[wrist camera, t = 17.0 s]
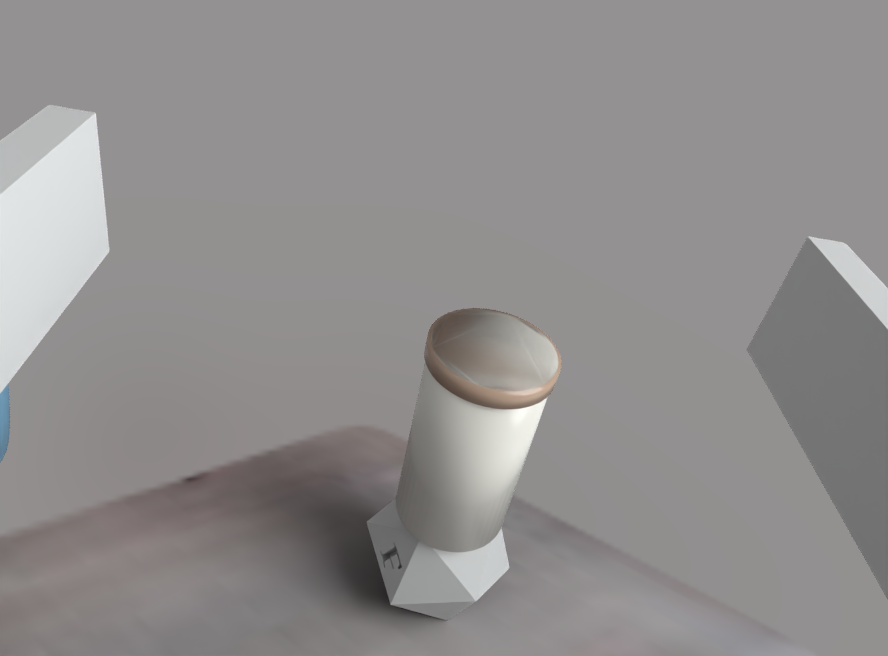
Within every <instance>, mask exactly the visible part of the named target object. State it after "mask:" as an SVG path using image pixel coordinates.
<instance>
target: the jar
mask: <svg viewBox="0 0 888 656" xmlns="http://www.w3.org/2000/svg"><path fill="white" fill-rule="evenodd" d="M424 358H425V365H424V370H423V375H422V379H421V384H420V388H419V393H418V398H417V402H416V407H415V411H414V416H413V421H412V425H411V430H410V435H409V439H408V444H407V449H406V453H405V458H404V462H403V467H402V472H401V476H400V481H399V486H398V490H397V495H396V509H397V513H398V516H399V518H400V520H401V522H402V524H403V525H404V526H405V528H406V529H407V530H408V531H409V532H410V533H411V534H412V535H413V536H414V537H415V538H417V539H418V540H419V541H421V542H423V543H424V544H426V545H428V546H431V547H433V548H436V549H439V550H442V551H448V552H468V551H473V550H476V549H479V548H481V547H484V546H485V545H487V544H489V543H490V542H491V541H492V540H493V539H494V538H495V537H496V536H497V535H498V533H499V531H500V529H501V527H502V524H503V521H504V518H505V515H506V513H507V510H508V507H509V504H510V501H511V499H512V496H513V493H514V490H515V487H516V484H517V482H518V479H519V476H520V473H521V470H522V468H523V465H524V462H525V459H526V456H527V453H528V451H529V448H530V445H531V442H532V439H533V436H534V434H535V430H536V428H537V425H538V422H539V419H540V417H541V414H542V411H543V408H544V405H545V403H546V400H547V397H548V396H549V395H550V394H551V392H552V391H553V388H554V386H555V383H556V380H557V378H558V375H559V372H560V370H561V357H560V353H559V351H558V349H557V347H556V346H555V344H554V343H553V341H551V339H550V338H549V337H548V336H547V335H546V334H545V333H544V332H543V331H541V330H540V329H539V328H537V327H536V326H534V325H533V324H531V323H529V322H527V321H525V320H523V319H521V318H519V317H516V316H514V315H511V314H508V313H504V312H500V311H496V310H490V309H480V308H471V309H461V310H456V311H453V312H450V313H447V314H445V315H443V316H441V317H440V318H438V319H437V320H436V321H435V322H434V323H433V324H432V326H431V328H430V330H429V332H428V337H427V342H426V347H425V352H424Z"/></svg>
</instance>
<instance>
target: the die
mask: <svg viewBox="0 0 888 656" xmlns="http://www.w3.org/2000/svg"><path fill="white" fill-rule="evenodd" d="M367 526H368V529H369V533H370V536H371V539H372V543H373V546H374V550H375V553H376V557H377V560H378V563H379V567H380V570H381V574H382V577H383V581H384V584H385V587H386V591H387V594H388V598H389V601H390V605H394V606H397V607H401V608H404V609H408V610H411V611H415V612H419V613H422V614H426V615H429V616H433V617H436V618H440V619H443V620H447V621H448V620H449V619H451V618H452V617H454V616H455V615H457V614H458V613H459V612H461V611H462V610H464V609H465V608H467V607H468V606H470V605H471V604H473V603H474V602H476V601H477V600H478V599H479V598H480V597H481V596H482V595H483V594H484V593H485V592H486V591H487V590H488V589H489V588H490V587H491V586H492V585H493V584H494V583H495V582H496V581H497V580H498V579H499V578H500V577H501V576H502V575H503V574H504V573H505V572H506V571H507V570H508V569H509V563H508V558H507V554H506V549H505V544H504V539H503V534H502V529H500V531H499V533H498V535H497V536H496V537H495V538H494V539H493V540H492V541H491V542H490V543H489V544H487V545H485V546H484V547H481V548H479V549H476V550H473V551H468V552H448V551H442V550H439V549H436V548H433V547H431V546H428V545H426V544H424V543H423V542H421V541H419V540H418V539H417V538H415V537H414V536H413V535H412V534H411V533H410V532H409V531H408V530H407V529H406V528H405V526H404V525H403V524H402V522H401V520H400V518H399V516H398V513H397V509H396V498H395V499H394V500H393V501H391V502H390V503H389V504H388V505H386V506H385V507H384V508H383V509H382V510H380V511H379V512H378V513H377V514H375V515H374V516H373V517H372V518H371V519H369V520H368V521H367Z"/></svg>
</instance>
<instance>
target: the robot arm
mask: <svg viewBox="0 0 888 656" xmlns="http://www.w3.org/2000/svg"><path fill="white" fill-rule="evenodd" d="M108 252H109V243H108V232H107V222H106V213H105V203H104V192H103V182H102V172H101V163H100V153H99V142H98V132H97V121H96V113H94V112H88V111H82V110H76V109H71V108H65V107H59V106H53V105H48V106H47V107H45V108H44V109H43V110H41V111H40V112H39V113H37V114H36V115H34V116H33V117H32V118H30V119H29V120H28V121H26V122H25V123H24V124H22V125H21V126H20V127H18V128H17V129H15V130H14V131H13V132H11V133H10V134H9V135H7V136H6V137H5V138H3V139H2V140H0V462H1V461H2V459H3V457H4V455H5V453H6V450H7V446H8V440H9V428H10V427H9V426H10V407H9V388H8V383H9V382H10V380H11V379H12V377H13V376H14V375H15V374H16V372H17V371H18V370H19V368H20V367H21V366H22V365H23V363H24V362H25V361H26V359H27V358H28V357H29V355H30V354H31V353H32V352H33V350H34V349H35V348H36V346H37V345H38V344H39V342H40V341H41V340H42V338H43V337H44V336H45V335H46V333H47V332H48V331H49V329H50V328H51V327H52V325H53V324H54V323H55V322H56V320H57V319H58V318H59V316H60V315H61V314H62V312H63V311H64V309H65V308H66V307H67V306H68V305H69V303H70V302H71V301H72V299H73V298H74V297H75V295H76V294H77V293H78V292H79V290H80V289H81V288H82V286H83V285H84V283H85V282H86V281H87V280H88V279H89V277H90V276H91V275H92V273H93V272H94V271H95V269H96V268H97V267H98V265H99V264H100V263H101V261H102V260H103V259H104V258H105V256H106V255H107V254H108ZM747 351H748V353H749V355H750V356H751V358H752V360H753V362H754V363H755V365H756V367H757V369H758V370H759V372H760V374H761V376H762V378H763V379H764V381H765V383H766V385H767V386H768V388H769V390H770V392H771V393H772V395H773V397H774V399H775V401H776V402H777V404H778V406H779V408H780V409H781V411H782V413H783V414H784V417H785V418H786V420H787V422H788V424H789V425H790V427H791V429H792V431H793V432H794V434H795V436H796V438H797V440H798V441H799V443H800V445H801V447H802V448H803V450H804V452H805V454H806V455H807V457H808V459H809V460H810V463H811V464H812V466H813V468H814V469H815V471H816V473H817V475H818V477H819V478H820V480H821V482H822V484H823V486H824V487H825V489H826V491H827V493H828V494H829V496H830V498H831V500H832V502H833V503H834V505H835V507H836V509H837V510H838V512H839V514H840V516H841V517H842V519H843V521H844V523H845V524H846V526H847V528H848V530H849V532H850V533H851V535H852V537H853V539H854V540H855V542H856V544H857V546H858V548H859V549H860V551H861V553H862V555H863V556H864V558H865V560H866V562H867V564H868V565H869V567H870V569H871V571H872V572H873V574H874V576H875V578H876V579H877V581H878V583H879V585H880V587H881V588H882V590H883V592H884V594H885V595H886V597H887V599H888V288H887V287H886V286H885V285H884V284H883V283H882V282H881V281H880V280H879V279H878V278H877V277H876V275H875V274H874V273H873V272H872V271H871V270H870V269H869V268H868V267H867V266H866V265H865V264H864V263H863V262H862V260H860V258H859V257H858V256H857V255H856V254H855V253H854V252H853V251H852V250H851V249H850V248H849V247H848V246H847V245H846V244H845V243H843V242H837V241H832V240H826V239H820V238H814V237H809V236H808V237H807V239H806V241H805V243H804V244H803V246H802V248H801V250H800V252H799V254H798V256H797V257H796V259H795V261H794V263H793V265H792V267H791V268H790V270H789V272H788V274H787V276H786V278H785V280H784V281H783V284H782V285H781V287H780V289H779V291H778V293H777V295H776V296H775V298H774V300H773V302H772V304H771V306H770V307H769V309H768V311H767V313H766V315H765V317H764V318H763V320H762V322H761V324H760V326H759V328H758V330H757V331H756V333H755V335H754V337H753V339H752V341H751V343H750V344H749V346H748V348H747Z"/></svg>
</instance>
